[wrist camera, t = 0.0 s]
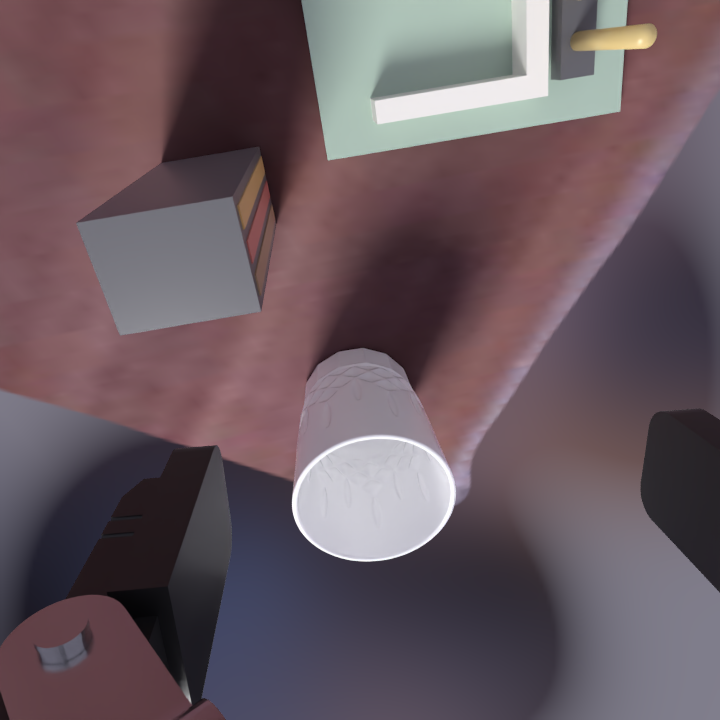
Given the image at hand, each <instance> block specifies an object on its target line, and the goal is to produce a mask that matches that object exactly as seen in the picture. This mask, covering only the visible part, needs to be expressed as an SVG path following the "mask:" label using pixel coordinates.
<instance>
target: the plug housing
mask: <svg viewBox="0 0 720 720" xmlns="http://www.w3.org/2000/svg"><path fill="white" fill-rule="evenodd" d="M76 224H77V226H78V229H79V231H80V234H81V236H82V239H83V242H84V244H85V247H86V249H87V252H88V254H89V257H90V260H91V262H92V265H93V267H94V270H95V272H96V275H97V278H98V280H99V283H100V285H101V288H102V290H103V293H104V296H105V298H106V301H107V303H108V306H109V308H110V311H111V314H112V316H113V319H114V321H115V324H116V326H117V329H118V332H119V334H120V335H126V334H132V333H137V332H143V331H149V330H155V329H161V328H167V327H173V326H179V325H185V324H191V323H196V322H202V321H208V320H214V319H220V318H226V317H232V316H238V315H244V314H249V313H255V312H261V310H262V304H263V298H264V292H265V287H266V281H267V275H268V269H269V263H270V258H271V252H272V246H273V240H274V235H275V229H276V221H275V215H274V211H273V206H272V203H271V198H270V193H269V188H268V183H267V180H266V175H265V170H264V165H263V161H262V156H261V152H260V148H259V147H253V148H248V149H242V150H236V151H230V152H224V153H218V154H212V155H206V156H200V157H194V158H188V159H182V160H176V161H170V162H164V163H160V164H159V165H158V166H156V167H155V168H153V169H152V170H150V171H149V172H148V173H146V174H145V175H143V176H142V177H141V178H139V179H138V180H136V181H135V182H133V183H132V184H131V185H129V186H128V187H126V188H125V189H124V190H122V191H121V192H119V193H118V194H116V195H115V196H114V197H112V198H111V199H109V200H108V201H107V202H105V203H104V204H102V205H101V206H99V207H98V208H97V209H95V210H94V211H92V212H91V213H90V214H88V215H87V216H85V217H84V218H83V219H81V220H80V221H78V222H77V223H76Z"/></svg>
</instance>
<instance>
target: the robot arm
mask: <svg viewBox="0 0 720 720" xmlns="http://www.w3.org/2000/svg"><path fill="white" fill-rule="evenodd" d="M641 498H642V502H643V505H644V508H645V510H646V512H647V514H648V515H649V517H650V518H651V520H652V521H653V522H654V523H655V524H656V525H657V526H658V527H659V528H660V529H661V530H662V531H663V532H664V533H665V535H666V536H668V538H669V539H670V540H671V541H672V542H673V543H674V544H675V545H676V546H677V547H678V548H679V549H680V550H681V552H682V553H683V554H684V555H685V556H686V557H687V558H688V559H689V560H690V561H691V562H692V563H693V564H694V565H695V567H696V568H697V569H698V570H699V571H700V572H701V573H702V574H703V575H704V576H705V577H706V578H707V579H708V580H709V581H710V583H712V585H713V586H714V587H715V588H716V589H717V590H718V591H719V592H720V420H719V419H718V418H716V417H714V416H713V415H711V414H710V413H708V412H707V411H705V410H702V409H686V410H674V411H660V412H657V413H656V414H654V416H653V417H652V419H651V421H650V424H649V430H648V437H647V445H646V452H645V458H644V465H643V472H642V479H641ZM101 535H102V538H101V539H99V540H98V542H97V544H96V545H95V547H94V549H93V551H92V552H91V554H90V556H89V558H88V560H87V561H86V563H85V565H84V567H83V569H82V570H81V572H80V574H79V576H78V578H77V579H76V581H75V583H74V585H73V587H72V588H71V590H70V592H69V594H68V596H67V597H66V599H65V600H63V601H60V602H57V603H55V604H52V605H50V606H48V607H46V608H44V609H42V610H41V611H38V612H37V613H35V614H34V615H33V616H31V617H29V618H28V619H26V620H25V621H24V622H23V623H21V624H20V625H19V626H18V627H17V628H16V629H15V630H14V631H13V632H12V633H11V634H10V635H9V636H8V637H7V639H6V640H5V641H4V642H3V644H2V646H1V647H0V720H226V719H225V718H224V717H223V715H222V714H221V713H220V711H219V710H218V709H217V708H216V707H215V706H214V704H213V703H211V702H210V701H209V700H207V699H205V698H203V699H201V698H202V693H203V688H204V683H205V679H206V673H207V669H208V664H209V659H210V654H211V649H212V644H213V639H214V634H215V629H216V624H217V620H218V614H219V609H220V605H221V600H222V595H223V590H224V585H225V580H226V575H227V570H228V565H229V560H230V555H231V546H232V528H231V518H230V511H229V505H228V498H227V490H226V484H225V477H224V470H223V463H222V457H221V452H220V449H219V447H218V446H217V445H216V446H203V447H190V448H177V449H174V450H173V452H172V454H171V456H170V458H169V460H168V462H167V465H166V467H165V469H164V471H163V473H162V475H161V477H160V478H150V479H143V480H142V481H141V482H140V483H139V484H138V485H136V486H135V487H134V488H133V489H131V490H130V491H129V492H128V493H127V494H125V495H124V496H123V497H122V499H121V500H120V502H119V504H118V506H117V507H116V509H115V511H114V513H113V515H112V516H111V521H109V522H108V524H107V526H106V527H105V529H104V531H103V533H102V534H101Z"/></svg>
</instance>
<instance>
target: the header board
mask: <svg viewBox="0 0 720 720" xmlns="http://www.w3.org/2000/svg"><path fill="white" fill-rule="evenodd" d="M301 2H302V8H303V14H304V20H305V26H306V32H307V38H308V44H309V50H310V56H311V62H312V68H313V74H314V80H315V86H316V92H317V98H318V104H319V110H320V116H321V122H322V128H323V134H324V141H325V147H326V153H327V159H328V160H334V159H340V158H346V157H352V156H358V155H364V154H370V153H376V152H382V151H388V150H394V149H400V148H405V147H411V146H417V145H423V144H429V143H435V142H441V141H447V140H453V139H459V138H465V137H471V136H477V135H483V134H489V133H495V132H501V131H507V130H513V129H519V128H525V127H531V126H537V125H543V124H549V123H555V122H560V121H566V120H572V119H578V118H584V117H590V116H596V115H602V114H608V113H614V112H620V105H621V91H622V76H623V62H624V49H645V48H648V47H650V46H651V45H652V44H653V43H654V42H655V40H656V37H657V30H656V27H655V26H654V25H653V24H640V25H631V26H626V18H627V4H628V0H301Z"/></svg>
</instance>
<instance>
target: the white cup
mask: <svg viewBox="0 0 720 720" xmlns="http://www.w3.org/2000/svg"><path fill="white" fill-rule="evenodd" d="M455 498H456V486H455V481H454V477H453V474H452V472H451V469H450V467H449V465H448V463H447V460H446V458H445V456H444V453H443V451H442V449H441V447H440V444H439V442H438V440H437V437H436V435H435V433H434V430H433V428H432V425H431V423H430V421H429V419H428V417H427V415H426V413H425V410H424V408H423V406H422V404H421V402H420V400H419V398H418V396H417V395H416V393H415V392H414V390H413V389H412V387H411V385H410V383H409V380H408V378H407V375H406V373H405V371H404V368H403V367H401V366H400V365H399V364H398V363H397V362H395V361H394V360H393V359H392V358H391V357H389V356H388V355H387V354H385V353H381V352H377V351H373V350H370V349H366V348H358V349H352V350H346V351H339V352H337V353H335V354H334V355H332V356H331V357H329V358H328V359H326V360H324V361H323V362H321V363H320V364H318V365H317V367H316V368H315V370H314V372H313V373H312V375H311V376H310V378H309V380H308V381H307V383H306V388H305V402H304V407H303V411H302V413H301V420H300V426H299V436H298V441H297V453H296V465H295V475H294V486H293V496H292V509H293V515H294V518H295V521H296V523H297V526H298V527H299V529H300V531H301V532H302V533H303V535H304V536H305V537H306V538H307V539H308V540H309V541H310V542H311V543H312V544H313V545H315V546H316V547H318V548H319V549H321V550H323V551H325V552H326V553H329V554H331V555H333V556H336V557H340V558H343V559H348V560H354V561H379V560H385V559H391V558H395V557H398V556H401V555H404V554H407V553H409V552H411V551H413V550H415V549H417V548H419V547H421V546H422V545H424V544H425V543H427V542H428V541H429V540H431V539H432V538H433V537H434V536H435V535H436V534H437V533H438V532H439V531H440V530H441V529H442V528H443V526H444V525H445V524H446V522H447V520H448V519H449V517H450V515H451V512H452V510H453V507H454V504H455Z"/></svg>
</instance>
